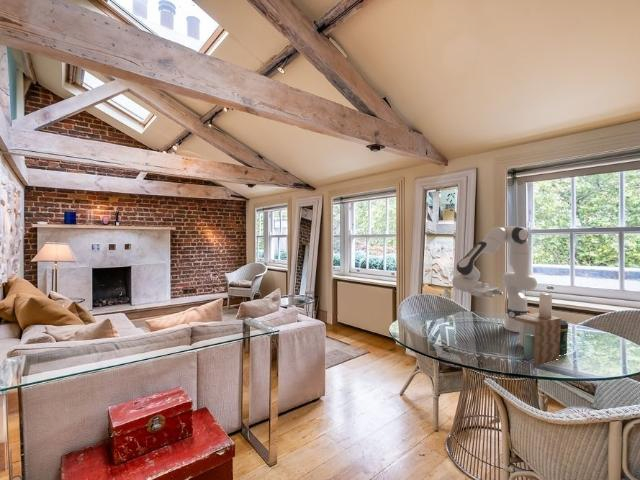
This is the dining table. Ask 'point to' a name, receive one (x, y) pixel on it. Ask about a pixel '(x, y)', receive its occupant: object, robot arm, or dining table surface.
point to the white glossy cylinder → (545, 305)
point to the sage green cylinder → (529, 346)
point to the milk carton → (525, 331)
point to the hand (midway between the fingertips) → (498, 295)
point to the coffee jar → (563, 337)
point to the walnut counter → (544, 336)
